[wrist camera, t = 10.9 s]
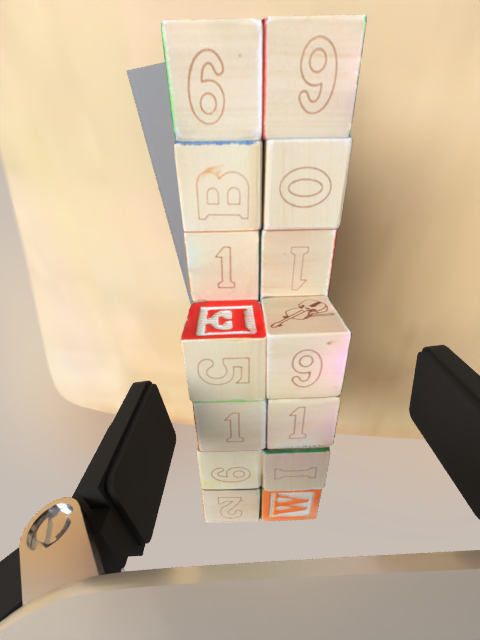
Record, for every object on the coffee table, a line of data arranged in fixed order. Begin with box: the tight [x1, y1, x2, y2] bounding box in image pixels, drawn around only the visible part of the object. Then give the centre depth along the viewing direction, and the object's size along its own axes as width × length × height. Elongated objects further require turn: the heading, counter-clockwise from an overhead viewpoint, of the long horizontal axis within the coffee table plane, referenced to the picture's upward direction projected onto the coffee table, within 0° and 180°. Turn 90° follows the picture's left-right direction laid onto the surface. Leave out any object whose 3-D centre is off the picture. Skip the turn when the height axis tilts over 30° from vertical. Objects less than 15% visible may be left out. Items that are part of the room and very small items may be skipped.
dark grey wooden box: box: [127, 62, 193, 304], centre depth 24 cm, size 10×26×5 cm, turn 9°
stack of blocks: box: [161, 15, 367, 522], centre depth 16 cm, size 21×6×12 cm, turn 1°
